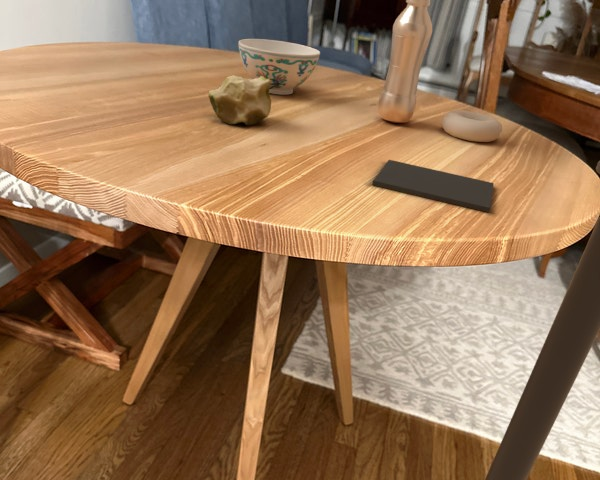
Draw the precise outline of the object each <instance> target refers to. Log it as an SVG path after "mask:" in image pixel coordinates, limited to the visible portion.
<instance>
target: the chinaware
mask: <svg viewBox="0 0 600 480" xmlns="http://www.w3.org/2000/svg"><path fill="white" fill-rule="evenodd" d="M237 43H238V50H239V51H238V52H239V56H240V60H241V63H242V66H243V67H244V69H245V71H246V73H247V75H249V77H250V79H255V78H260V76H263V77H265V78H266V79H267V78H268V79H270V87H272V86H274V85H276V84H277V83H278V82H279V85H278V86H276V87H274V88H272V89H269V94H273V95H280V96H281V95H283V96H284V95H285V96H287V95H293V93H294V89H295V88H297V87H299V86H300V85H302V84H303V83H304V82H305V81H306V80H308V79H309V77H310V76H311V75H312V73H313V72H314V71H315V69H316V67H317V64H318V62H319V59H320V56H321V51H320V50H319V49H316V48H314V47H310V46H308V45H303V44H301V43H300V44H299V43H295V42H289V41H283V40H276V39H266V38H264V39H263V38H245V39H244V38H243V39H240V40H238V42H237ZM270 87H269V88H270Z"/></svg>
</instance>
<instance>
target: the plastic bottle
mask: <svg viewBox="0 0 600 480" xmlns="http://www.w3.org/2000/svg"><path fill="white" fill-rule="evenodd" d="M405 2H406V3H407V4H406V7H405V8H403V10H402V11H401V12H400V14H399V15H398V16H397V17H396V19H395V21H394V23H393V25H392V33H391V48H390V56H389V63H388V69H387V73H386V77H385V79H384V84H383V88H382V90H381V93H380V96H379V98H378V102H377V113H378V116H379V118H381V119H383V120H385V121H388V122H391V123H395V124H396V123H407V122H410V120H411V119H412V118H413V116H414V114H415V111H416V107H417V92H418V91H417V90H418V85H419V79H420V78H419V77H420V73H421V67H422V65H423V62H424V58H425V54H426V52H427V49H428V46H429V43H430V40H431V37H432V35H433V23H432V19H431V17H430V13H429V11H428V8H429V7H430V6H431V0H405Z"/></svg>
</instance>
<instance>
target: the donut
mask: <svg viewBox="0 0 600 480" xmlns="http://www.w3.org/2000/svg"><path fill="white" fill-rule="evenodd" d="M441 126H442V129H443V130H444V132H446V133H447V134H449V135H450V136H452V137H453V138H454V137H455V138H457V139H461V140H464V141H468V142H474V143H475V142H476V143H489V142H494V141H496V140H498V138H499V137H500V136H501V134H502V132H503V125H502V123H501V122H500V121H499V120H498V119H497V118H495V117H493V116H491V115H488V114H485V113H481V112H477V111H472V110H470V111H469V110H463V109H462V110H461V109H456V110H451V111H448V112H447V113H446V114H445V115H443V117H442V120H441Z"/></svg>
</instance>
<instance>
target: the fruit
mask: <svg viewBox="0 0 600 480" xmlns="http://www.w3.org/2000/svg"><path fill="white" fill-rule="evenodd" d="M278 85H279V82H278V83H277V84H276V85H274V86H272V87H270V79H268V78H267V79H266V78H265V77H263V76H260V78H255V79H252V78H244V76H243V77H242V76H240V75H234V74H232V75H230V76H227V77H225V79H224V80H223V82H222V83H221V85H220V86H219V87H218V88H215V89H211V90H209V91H208V98H209V102H210V105H211V107H212V110H213V111H214V113H215V115H216V117H217V118H218V119H219V120H220V121H222V122H224V123H226V124H228V125H236V124H240V123H244V124H245V126H253V125H257V124H259V123H261V122H262V121H263V120H265V119H266V118H268V116H269V115H270V113H271V110H272V99H271V96H270V94H271V93H269V89H272V88H274V87H276V86H278ZM269 87H270V88H269Z"/></svg>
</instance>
